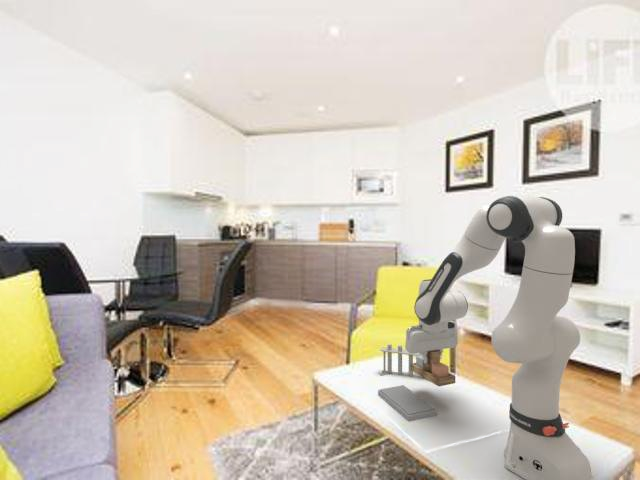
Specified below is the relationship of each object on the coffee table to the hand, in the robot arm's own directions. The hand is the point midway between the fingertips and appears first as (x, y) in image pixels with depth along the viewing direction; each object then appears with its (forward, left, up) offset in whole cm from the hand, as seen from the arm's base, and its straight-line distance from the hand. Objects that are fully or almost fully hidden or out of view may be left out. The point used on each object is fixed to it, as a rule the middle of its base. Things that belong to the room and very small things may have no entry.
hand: (431, 362), depth 135 cm
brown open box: (0, 0, -5) cm, 5 cm away
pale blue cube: (+5, 0, -4) cm, 6 cm away
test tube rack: (+21, -5, -15) cm, 26 cm away
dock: (0, +11, -15) cm, 18 cm away
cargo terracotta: (-4, 0, -4) cm, 6 cm away
